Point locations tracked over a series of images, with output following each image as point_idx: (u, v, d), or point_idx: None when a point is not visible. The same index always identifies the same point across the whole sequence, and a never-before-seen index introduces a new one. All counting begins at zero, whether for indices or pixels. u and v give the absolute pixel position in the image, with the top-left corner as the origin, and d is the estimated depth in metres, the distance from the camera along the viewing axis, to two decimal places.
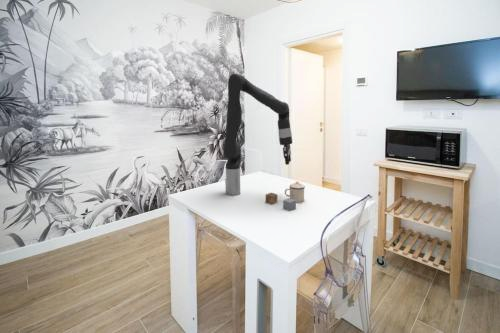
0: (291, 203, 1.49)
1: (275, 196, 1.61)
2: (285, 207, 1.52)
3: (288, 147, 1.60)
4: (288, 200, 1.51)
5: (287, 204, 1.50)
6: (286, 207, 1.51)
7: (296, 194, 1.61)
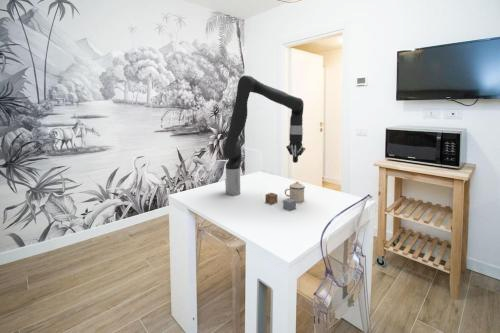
0: (291, 203, 1.49)
1: (275, 196, 1.61)
2: (285, 207, 1.52)
3: None
4: (288, 200, 1.51)
5: (287, 204, 1.50)
6: (286, 207, 1.51)
7: (296, 194, 1.61)
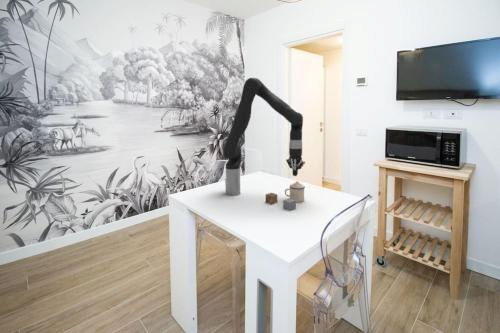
0: (291, 203, 1.49)
1: (275, 196, 1.61)
2: (285, 207, 1.52)
3: None
4: (288, 200, 1.51)
5: (287, 204, 1.50)
6: (286, 207, 1.51)
7: (296, 194, 1.61)
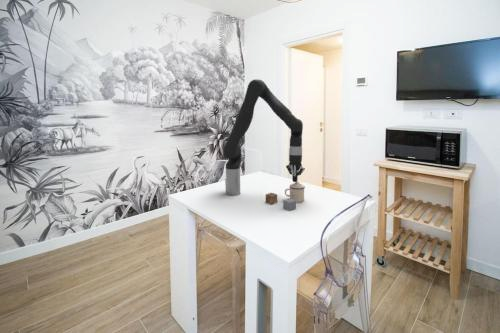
0: (291, 203, 1.49)
1: (275, 196, 1.61)
2: (285, 207, 1.52)
3: None
4: (288, 200, 1.51)
5: (287, 204, 1.50)
6: (286, 207, 1.51)
7: (296, 194, 1.61)
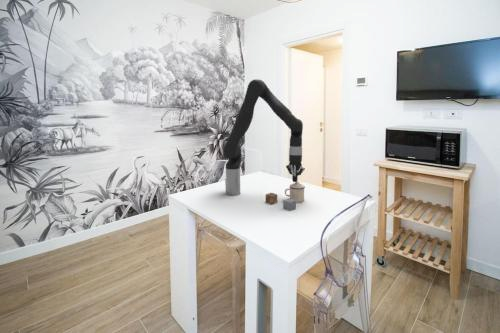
0: (291, 203, 1.49)
1: (275, 196, 1.61)
2: (285, 207, 1.52)
3: None
4: (288, 200, 1.51)
5: (287, 204, 1.50)
6: (286, 207, 1.51)
7: (296, 194, 1.61)
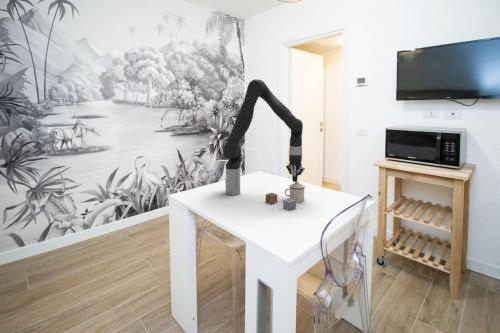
0: (291, 203, 1.49)
1: (275, 196, 1.61)
2: (285, 207, 1.52)
3: None
4: (288, 200, 1.51)
5: (287, 204, 1.50)
6: (286, 207, 1.51)
7: (296, 194, 1.61)
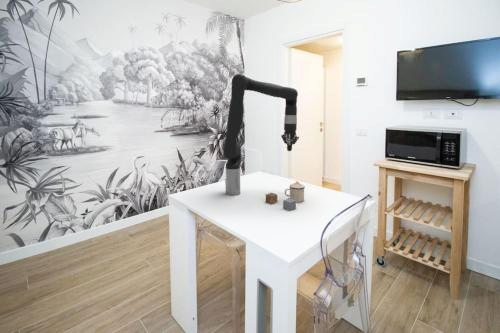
0: (291, 203, 1.49)
1: (275, 196, 1.61)
2: (285, 207, 1.52)
3: None
4: (288, 200, 1.51)
5: (287, 204, 1.50)
6: (286, 207, 1.51)
7: (296, 194, 1.61)
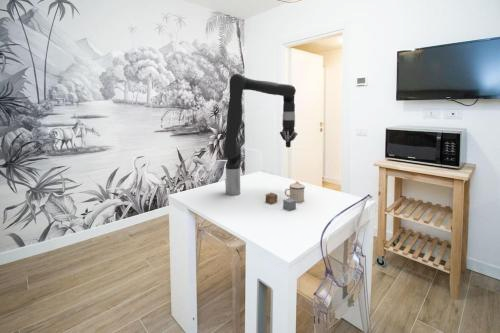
0: (291, 203, 1.49)
1: (275, 196, 1.61)
2: (285, 207, 1.52)
3: None
4: (288, 200, 1.51)
5: (287, 204, 1.50)
6: (286, 207, 1.51)
7: (296, 194, 1.61)
